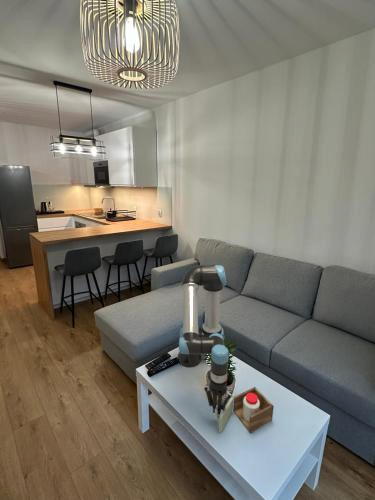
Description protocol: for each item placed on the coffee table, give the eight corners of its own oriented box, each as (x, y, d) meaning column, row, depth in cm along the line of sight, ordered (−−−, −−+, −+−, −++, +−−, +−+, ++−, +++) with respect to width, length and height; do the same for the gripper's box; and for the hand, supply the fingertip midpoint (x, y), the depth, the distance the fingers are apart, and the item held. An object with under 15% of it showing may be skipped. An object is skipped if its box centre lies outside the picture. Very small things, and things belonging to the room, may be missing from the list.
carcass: (233, 411, 131) (233, 396, 129) (253, 400, 137) (255, 386, 134) (250, 433, 120) (251, 417, 117) (272, 420, 126) (273, 405, 123)
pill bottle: (246, 405, 133) (248, 388, 130) (261, 414, 128) (262, 396, 125) (239, 416, 127) (240, 398, 124) (254, 425, 123) (255, 407, 119)
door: (228, 409, 132) (229, 395, 129) (232, 411, 131) (233, 397, 128) (216, 430, 121) (216, 415, 119) (221, 433, 120) (221, 418, 117)
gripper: (202, 379, 118) (201, 419, 124) (230, 388, 113) (227, 429, 120) (207, 368, 124) (206, 407, 131) (234, 376, 119) (231, 416, 126)
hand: (216, 418), depth 125 cm, fingers closed
